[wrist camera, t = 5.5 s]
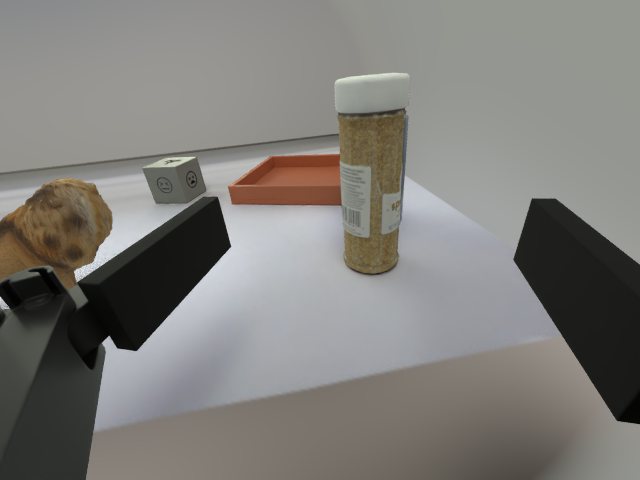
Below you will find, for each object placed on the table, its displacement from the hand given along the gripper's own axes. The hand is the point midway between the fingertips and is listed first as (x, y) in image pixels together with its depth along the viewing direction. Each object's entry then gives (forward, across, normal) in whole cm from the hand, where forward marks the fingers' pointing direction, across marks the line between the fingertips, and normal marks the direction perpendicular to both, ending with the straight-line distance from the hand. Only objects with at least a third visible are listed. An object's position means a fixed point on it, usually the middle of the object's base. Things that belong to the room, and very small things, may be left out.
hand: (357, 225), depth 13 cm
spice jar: (+9, 0, -8) cm, 12 cm away
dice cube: (+23, -28, -8) cm, 37 cm away
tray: (+28, -11, -8) cm, 31 cm away
